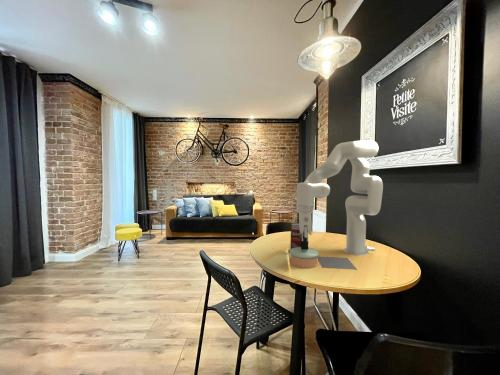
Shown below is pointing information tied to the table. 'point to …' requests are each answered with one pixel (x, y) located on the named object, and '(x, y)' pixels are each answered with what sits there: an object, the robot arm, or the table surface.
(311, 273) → the table surface
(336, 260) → the mat
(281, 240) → the table surface
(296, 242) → the supplement box
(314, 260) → the bowl
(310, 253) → the lid
